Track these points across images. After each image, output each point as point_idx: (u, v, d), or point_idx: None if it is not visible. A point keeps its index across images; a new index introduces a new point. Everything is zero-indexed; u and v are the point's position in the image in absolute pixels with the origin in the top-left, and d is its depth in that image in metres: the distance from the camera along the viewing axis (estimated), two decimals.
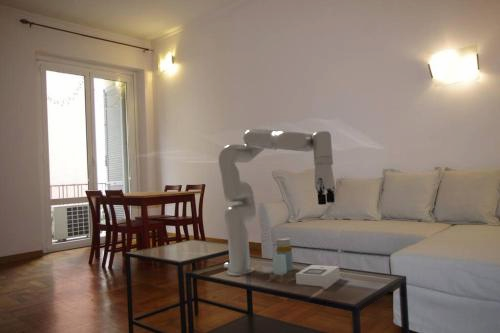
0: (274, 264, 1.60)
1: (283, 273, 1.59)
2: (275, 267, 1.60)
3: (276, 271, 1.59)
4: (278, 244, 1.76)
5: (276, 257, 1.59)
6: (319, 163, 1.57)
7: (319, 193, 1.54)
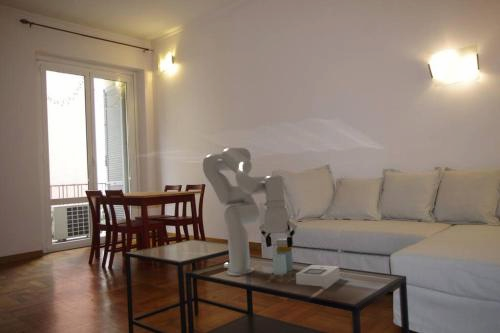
0: (274, 264, 1.60)
1: (283, 273, 1.59)
2: (275, 267, 1.60)
3: (276, 271, 1.59)
4: (278, 244, 1.76)
5: (276, 257, 1.59)
6: (283, 206, 1.59)
7: (291, 235, 1.57)
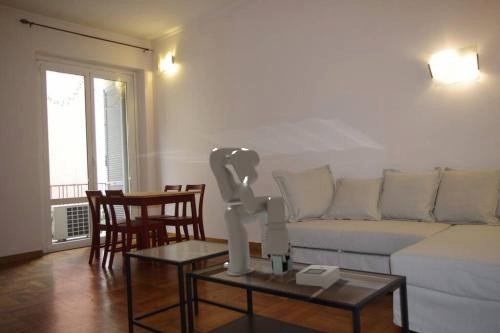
0: (274, 264, 1.60)
1: (283, 273, 1.59)
2: (275, 267, 1.60)
3: (276, 271, 1.59)
4: None
5: (276, 257, 1.59)
6: (284, 228, 1.59)
7: (286, 261, 1.59)
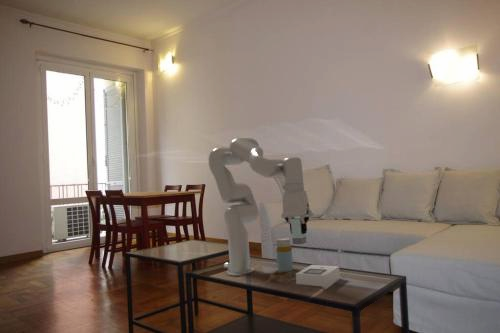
0: (292, 227, 1.56)
1: (302, 236, 1.55)
2: (293, 230, 1.56)
3: (294, 235, 1.55)
4: (278, 244, 1.76)
5: (294, 220, 1.55)
6: (302, 189, 1.55)
7: (305, 223, 1.55)
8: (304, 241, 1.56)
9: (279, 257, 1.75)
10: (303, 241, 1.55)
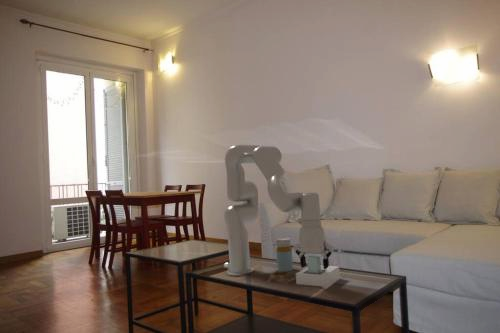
0: (309, 266, 1.53)
1: None
2: (310, 269, 1.52)
3: None
4: (278, 244, 1.76)
5: (311, 258, 1.52)
6: (320, 225, 1.52)
7: None
8: None
9: (279, 257, 1.75)
10: None
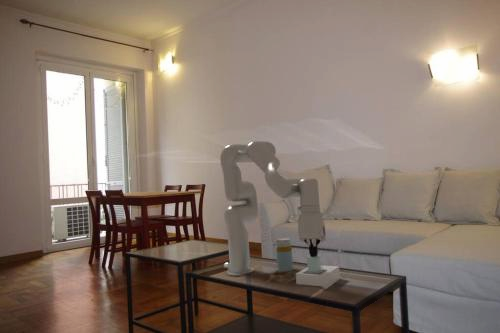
0: (309, 266, 1.53)
1: None
2: (310, 269, 1.52)
3: None
4: (278, 244, 1.76)
5: (311, 258, 1.52)
6: (319, 211, 1.52)
7: (316, 246, 1.53)
8: None
9: (279, 257, 1.75)
10: None
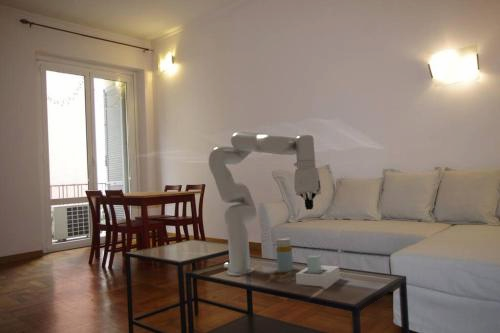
0: (309, 266, 1.53)
1: None
2: (310, 269, 1.52)
3: None
4: (278, 244, 1.76)
5: (311, 258, 1.52)
6: (314, 166, 1.60)
7: (312, 199, 1.60)
8: None
9: (279, 257, 1.75)
10: None
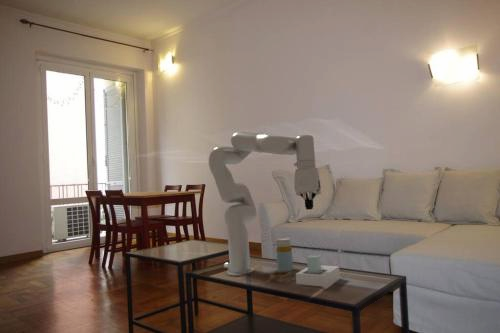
0: (309, 266, 1.53)
1: None
2: (310, 269, 1.52)
3: None
4: (278, 244, 1.76)
5: (311, 258, 1.52)
6: (314, 166, 1.60)
7: (312, 199, 1.60)
8: None
9: (279, 257, 1.75)
10: None
